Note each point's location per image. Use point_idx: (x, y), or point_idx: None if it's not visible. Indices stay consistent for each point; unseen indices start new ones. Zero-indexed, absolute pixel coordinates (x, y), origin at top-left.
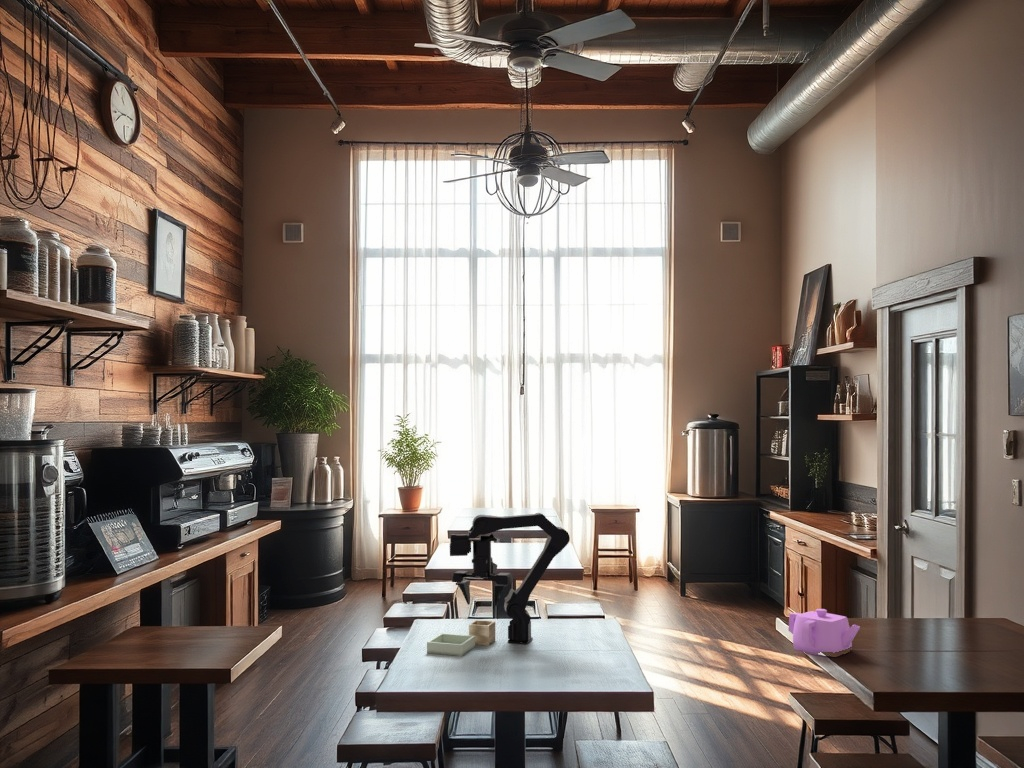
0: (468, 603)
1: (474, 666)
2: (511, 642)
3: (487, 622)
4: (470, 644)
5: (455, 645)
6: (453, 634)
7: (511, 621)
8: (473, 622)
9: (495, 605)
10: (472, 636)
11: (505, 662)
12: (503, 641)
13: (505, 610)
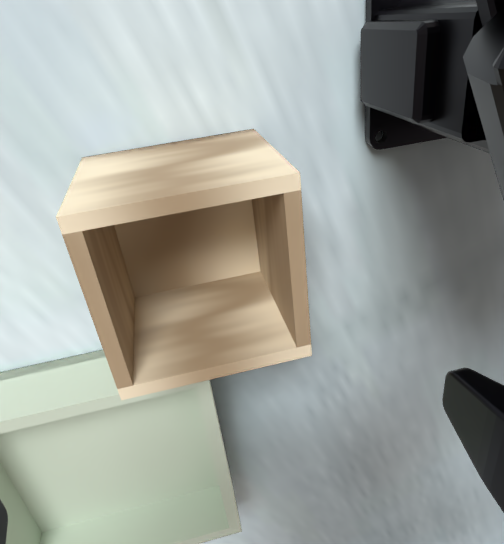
0: (3, 537)
1: (349, 531)
2: (395, 143)
3: (211, 202)
4: (216, 412)
5: (204, 536)
6: (32, 420)
7: (481, 125)
8: (108, 324)
9: (456, 415)
10: (198, 391)
11: (451, 445)
12: (321, 121)
13: (499, 185)
